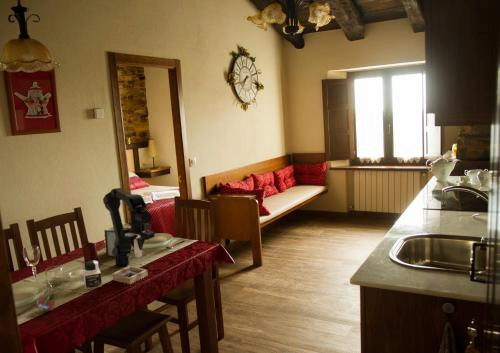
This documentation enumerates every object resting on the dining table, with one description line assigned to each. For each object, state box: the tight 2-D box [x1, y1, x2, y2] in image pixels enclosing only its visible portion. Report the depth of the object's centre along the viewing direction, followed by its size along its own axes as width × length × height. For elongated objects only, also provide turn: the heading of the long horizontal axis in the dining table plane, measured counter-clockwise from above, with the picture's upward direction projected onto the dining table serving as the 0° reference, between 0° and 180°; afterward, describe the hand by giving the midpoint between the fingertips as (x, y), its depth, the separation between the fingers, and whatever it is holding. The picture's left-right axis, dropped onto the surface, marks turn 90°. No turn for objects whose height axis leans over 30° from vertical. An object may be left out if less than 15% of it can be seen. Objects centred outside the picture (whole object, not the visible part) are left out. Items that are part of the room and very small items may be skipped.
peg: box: [133, 237, 143, 258], centre depth 214 cm, size 4×4×9 cm
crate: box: [112, 265, 149, 285], centre depth 211 cm, size 12×12×3 cm
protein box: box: [104, 222, 133, 258], centre depth 248 cm, size 10×15×16 cm
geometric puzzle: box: [36, 294, 56, 314], centre depth 178 cm, size 7×7×8 cm
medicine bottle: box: [83, 259, 103, 290], centre depth 202 cm, size 7×7×12 cm
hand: (138, 249), depth 214 cm, fingers closed on peg, 4 cm apart
